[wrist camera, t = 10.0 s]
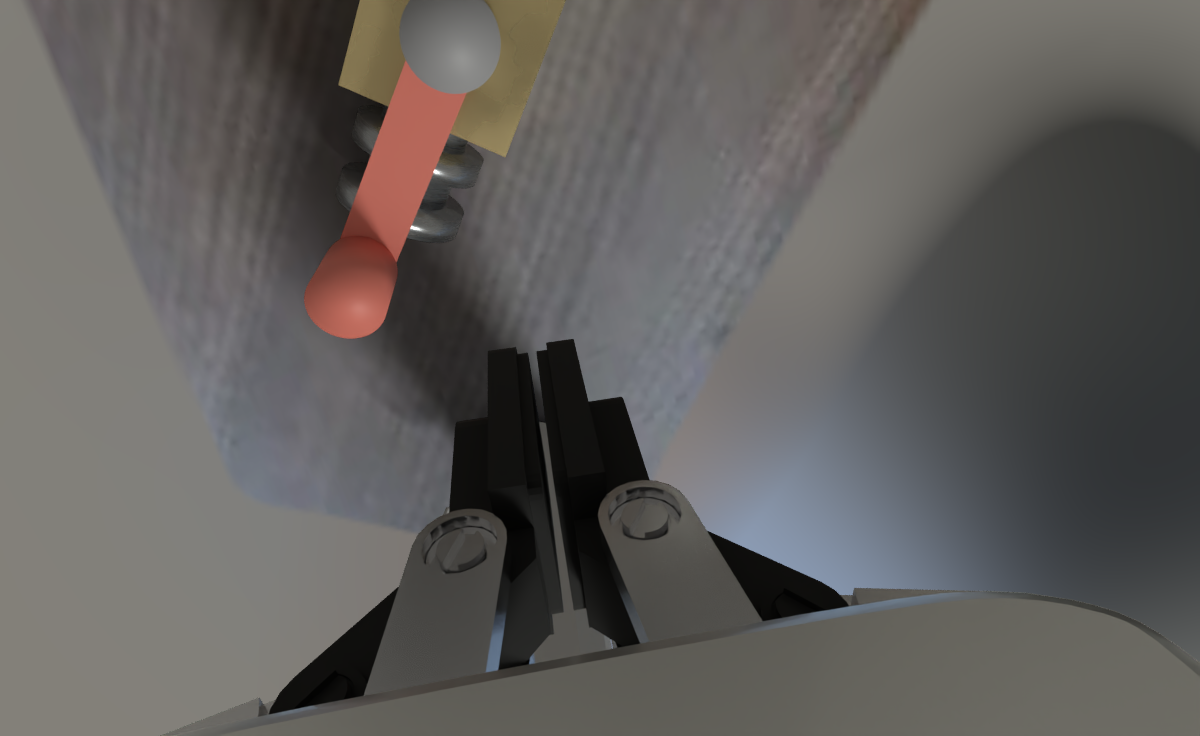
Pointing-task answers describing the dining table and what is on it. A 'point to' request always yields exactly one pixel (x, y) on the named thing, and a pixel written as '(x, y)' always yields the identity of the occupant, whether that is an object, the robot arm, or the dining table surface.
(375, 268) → the lever
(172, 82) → the dining table surface
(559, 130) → the dining table surface
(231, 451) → the dining table surface
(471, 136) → the valve
